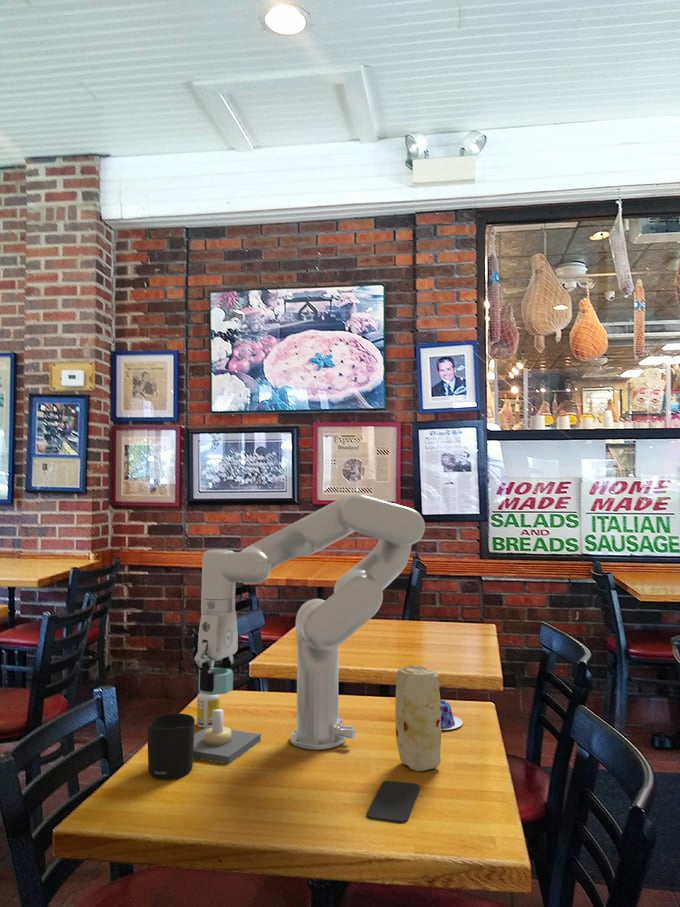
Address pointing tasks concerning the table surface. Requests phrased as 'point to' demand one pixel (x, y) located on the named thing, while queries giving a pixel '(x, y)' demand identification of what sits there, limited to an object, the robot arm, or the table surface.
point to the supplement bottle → (206, 708)
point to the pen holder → (170, 745)
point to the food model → (418, 717)
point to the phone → (393, 802)
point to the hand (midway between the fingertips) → (216, 685)
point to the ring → (220, 681)
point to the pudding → (448, 717)
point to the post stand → (222, 741)
